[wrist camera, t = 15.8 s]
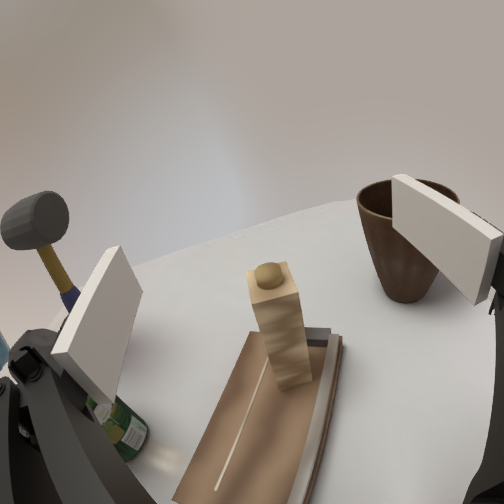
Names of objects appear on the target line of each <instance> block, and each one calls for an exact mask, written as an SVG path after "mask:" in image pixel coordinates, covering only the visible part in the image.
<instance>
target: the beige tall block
mask: <svg viewBox="0 0 504 504" xmlns="http://www.w3.org/2000/svg"><path fill="white" fill-rule="evenodd" d="M246 275H247V281H248V287H249V292H250V298H251V304H252V307H253V310H254V314H255V317H256V320H257V323H258V326H259V329H260V333H261V336H262V339H263V342H264V345H265V348H266V351H267V354H268V358H269V361H270V364H271V367H272V370H273V373H274V376H275V379H276V382H277V385H278V388H279V391H281V390H285V389H289V388H293V387H297V386H301V385H304V384H308V383H311V382H313V380H312V373H311V367H310V360H309V354H308V347H307V341H306V335H305V328H304V322H303V316H302V310H301V305H300V299H299V293H298V290H297V288H296V285H295V283H294V280H293V278H292V275H291V273H290V270H289V268H288V265H287V263H286V261H285V262H281V263H278V264H277V263H265V264H262V265H260V266H258V267H257V268H256V269H255V270H251V271H247V272H246Z"/></svg>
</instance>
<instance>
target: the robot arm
mask: <svg viewBox="0 0 504 504" xmlns="http://www.w3.org/2000/svg"><path fill="white" fill-rule="evenodd" d="M391 181H392V227H393V228H394V229H395V230H397V231H398V232H399V233H400V234H401V235H402V236H403V237H405V238H406V239H407V240H408V241H409V242H410V243H411V244H412V245H413V246H415V247H416V248H417V249H418V250H419V251H420V252H421V253H422V254H423V255H424V256H425V257H426V258H427V259H429V260H430V261H431V262H432V263H433V264H434V265H435V266H436V267H437V268H438V269H439V270H440V271H441V272H442V273H443V274H444V275H445V276H446V277H447V278H448V279H449V280H450V281H451V282H452V283H453V284H454V285H455V286H456V287H457V288H458V289H459V290H460V291H461V292H462V293H463V294H464V296H465V297H466V298H467V299H468V300H469V301H470V302H471V303H472V304H473V305H474V306H475V305H477V304H478V303H480V302H482V301H484V300H486V299H487V297H488V293H489V290H490V287H491V286H492V287H493V288H494V289H495V290H496V293H495V295H494V298H493V301H492V304H491V307H490V310H489V314H490V315H491V313H492V310H493V309H494V308H495V314H494V315H495V325H496V367H495V384H494V395H493V405H492V412H491V419H490V426H489V432H488V437H487V442H486V447H485V452H484V456H483V460H482V463H481V466H480V468H479V470H478V471H477V473H476V474H475V476H474V477H473V479H472V481H471V483H470V485H469V488H468V490H467V493H466V496H465V498H464V501H463V504H504V233H503V232H502V231H500V230H499V229H497V228H496V227H495V226H493V225H492V224H490V223H488V222H487V221H486V220H484V219H482V218H481V217H480V216H478V215H477V214H475V213H474V212H471V211H469V210H467V209H465V208H464V207H462V206H461V205H459V204H457V203H456V202H454V201H452V200H451V199H449V198H447V197H446V196H444V195H442V194H441V193H439V192H437V191H435V190H433V189H432V188H430V187H428V186H426V185H424V184H423V183H421V182H419V181H417V180H415V179H413V178H411V177H409V176H407V175H405V174H399V175H394V176H391ZM142 293H143V291H142V289H141V287H140V285H139V283H138V281H137V279H136V277H135V275H134V273H133V271H132V269H131V267H130V265H129V263H128V261H127V259H126V257H125V255H124V252H123V250H122V248H121V246H120V245H118V246H115V247H112V248H109V249H107V250H106V251H105V253H104V254H103V256H102V258H101V259H100V261H99V263H98V264H97V266H96V268H95V269H94V271H93V273H92V274H91V276H90V278H89V280H88V282H87V283H86V285H85V287H84V289H83V290H82V292H81V294H80V296H79V298H78V300H77V301H76V303H75V305H74V307H73V309H72V311H71V312H70V313H69V315H68V316H67V317H66V318H65V319H64V321H63V323H62V325H61V327H60V330H59V331H58V333H57V335H56V336H57V338H55V339H54V342H53V344H52V346H51V348H50V350H49V352H48V355H47V357H46V359H44V358H43V357H42V355H41V354H40V353H39V352H38V351H37V349H36V348H35V347H34V346H33V344H30V343H27V344H24V345H22V346H21V347H19V348H18V349H17V350H16V351H15V352H14V353H13V355H12V356H11V358H10V360H9V362H8V359H9V351H10V348H9V346H8V344H7V342H6V340H5V339H4V337H3V336H2V333H1V332H0V371H1V370H2V368H3V366H4V365H5V364H6V363H7V362H8V368H9V369H10V370H11V371H12V373H13V374H14V375H15V376H16V377H17V378H18V379H19V380H20V381H21V383H19V384H17V385H15V384H14V383H13V382H12V380H11V379H10V378H9V377H6V376H5V377H2V378H0V504H157V503H156V502H155V501H154V500H153V499H152V497H151V496H150V495H149V494H148V492H147V491H146V490H145V489H144V487H143V486H142V485H141V484H140V482H139V481H138V480H137V478H136V477H135V476H134V474H133V473H132V472H131V470H130V469H129V467H128V466H127V465H126V463H125V462H124V460H123V459H122V457H121V456H120V454H119V453H118V451H117V450H116V448H115V447H114V445H113V444H112V442H111V441H110V439H109V437H108V436H107V434H106V433H105V431H104V429H103V428H102V426H101V424H100V422H99V421H98V419H97V417H96V415H95V414H94V412H93V410H92V408H91V407H90V406H89V405H88V404H87V403H86V401H87V397H88V395H89V396H90V397H91V398H92V399H93V400H94V401H95V402H96V403H97V404H113V403H114V402H115V397H116V392H117V387H118V383H119V378H120V374H121V370H122V366H123V361H124V357H125V353H126V349H127V346H128V342H129V338H130V334H131V331H132V327H133V323H134V320H135V316H136V313H137V309H138V306H139V303H140V299H141V296H142ZM19 426H20V427H21V428H22V429H23V430H25V431H26V432H27V437H24V436H23V435H22V434H20V433H19Z"/></svg>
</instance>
